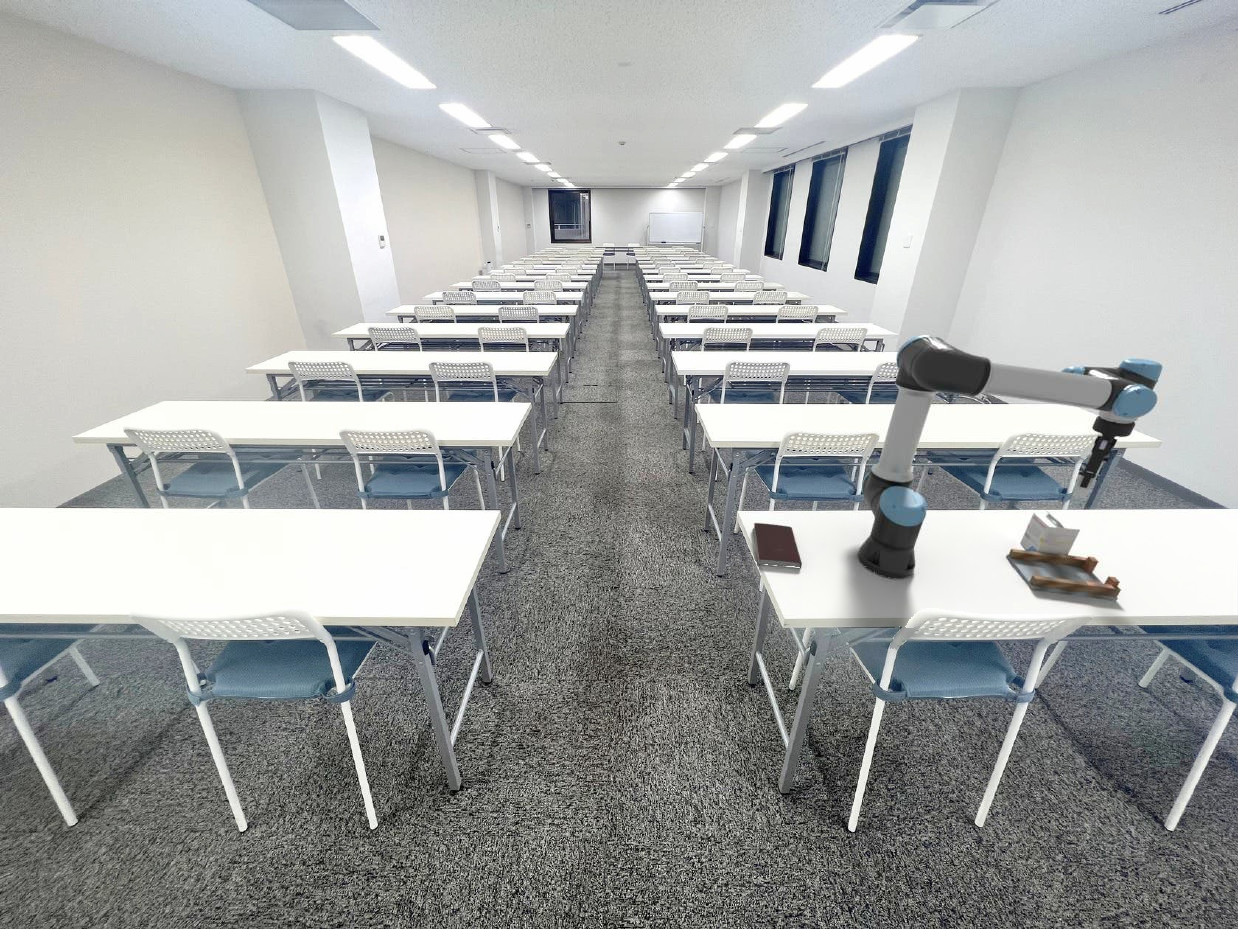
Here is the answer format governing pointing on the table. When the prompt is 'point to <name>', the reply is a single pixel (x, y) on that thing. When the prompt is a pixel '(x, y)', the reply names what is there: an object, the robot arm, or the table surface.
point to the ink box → (1049, 534)
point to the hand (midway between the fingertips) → (1083, 488)
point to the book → (776, 545)
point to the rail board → (1062, 574)
